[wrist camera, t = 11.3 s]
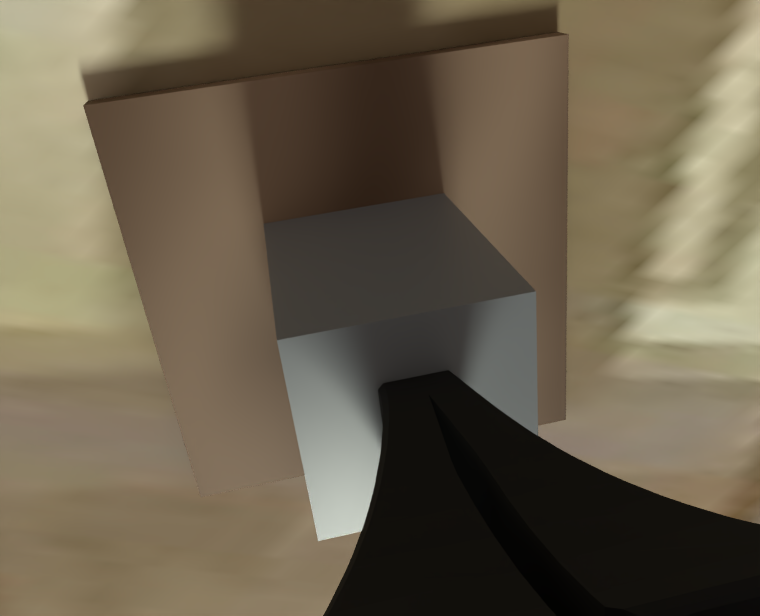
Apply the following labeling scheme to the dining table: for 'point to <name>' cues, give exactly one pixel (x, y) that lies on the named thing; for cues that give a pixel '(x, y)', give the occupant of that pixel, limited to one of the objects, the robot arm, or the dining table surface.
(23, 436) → the dining table surface
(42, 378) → the dining table surface
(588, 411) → the dining table surface
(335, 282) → the grey rectangular block
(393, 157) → the post board
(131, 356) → the dining table surface
